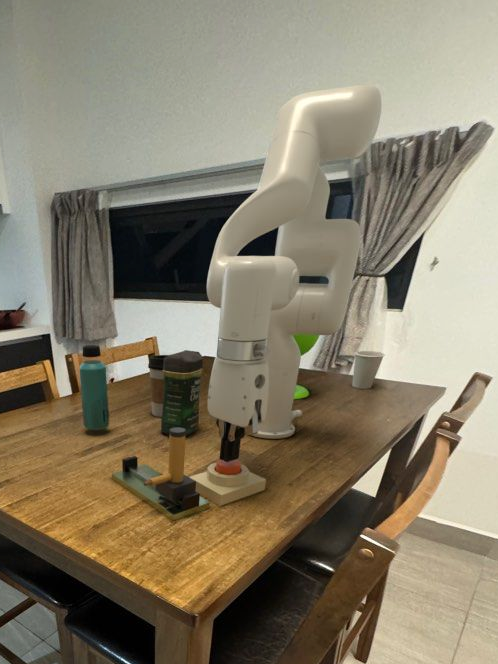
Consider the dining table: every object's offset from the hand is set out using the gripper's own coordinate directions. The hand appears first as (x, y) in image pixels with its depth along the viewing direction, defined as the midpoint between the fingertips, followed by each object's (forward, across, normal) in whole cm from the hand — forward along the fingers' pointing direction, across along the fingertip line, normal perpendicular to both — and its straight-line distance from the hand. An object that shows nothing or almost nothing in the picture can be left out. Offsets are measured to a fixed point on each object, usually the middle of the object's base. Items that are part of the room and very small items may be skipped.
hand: (228, 458), depth 81 cm
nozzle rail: (+6, +6, +11) cm, 14 cm away
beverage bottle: (+6, +42, +4) cm, 43 cm away
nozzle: (+5, +1, +13) cm, 14 cm away
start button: (+2, 0, 0) cm, 3 cm away
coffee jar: (+6, +30, -13) cm, 33 cm away
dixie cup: (+6, +30, -87) cm, 92 cm away
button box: (+6, 0, 0) cm, 6 cm away
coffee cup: (+6, +44, -18) cm, 48 cm away
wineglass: (+6, +40, -61) cm, 73 cm away
